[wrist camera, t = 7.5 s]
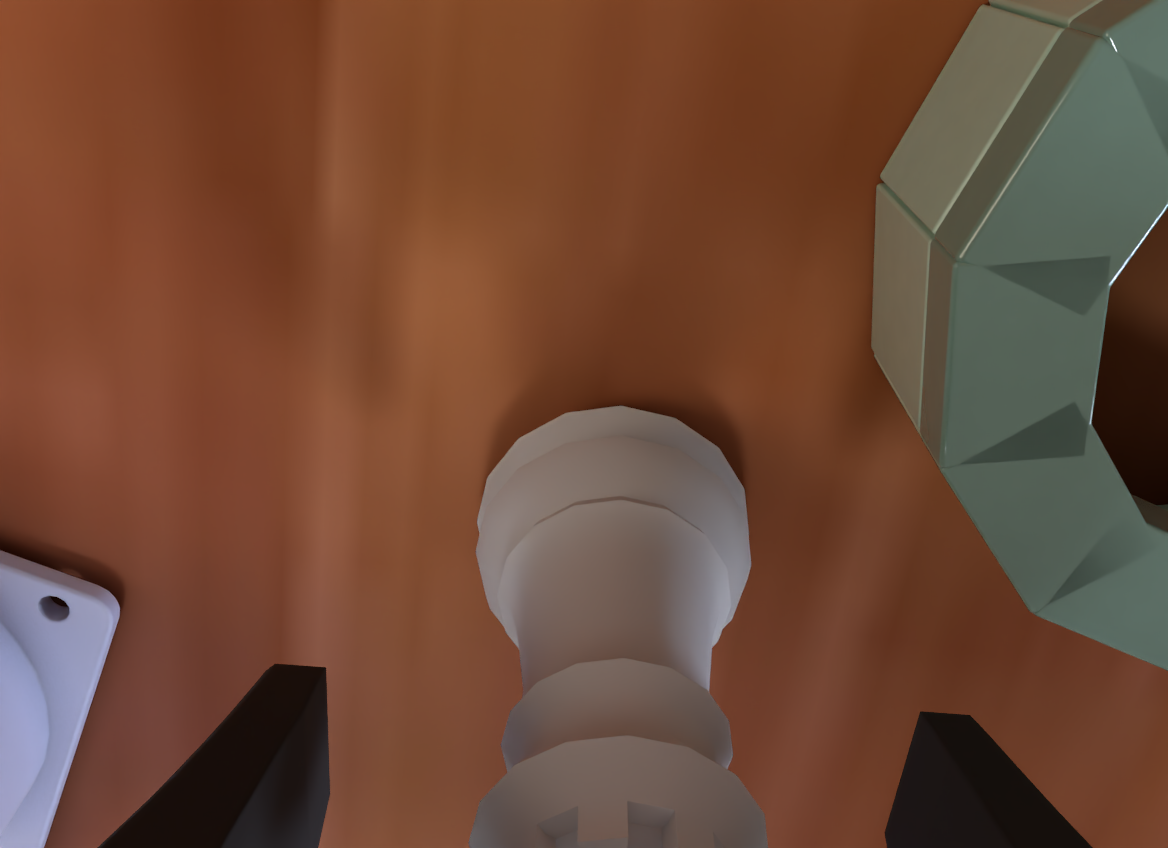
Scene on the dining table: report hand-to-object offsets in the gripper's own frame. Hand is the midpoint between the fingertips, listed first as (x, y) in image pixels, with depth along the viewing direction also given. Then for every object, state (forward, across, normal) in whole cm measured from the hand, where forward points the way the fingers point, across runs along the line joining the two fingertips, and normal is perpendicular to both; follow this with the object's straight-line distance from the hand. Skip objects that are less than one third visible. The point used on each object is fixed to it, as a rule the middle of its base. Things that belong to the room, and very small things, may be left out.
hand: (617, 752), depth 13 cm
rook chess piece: (+6, 0, 0) cm, 6 cm away
